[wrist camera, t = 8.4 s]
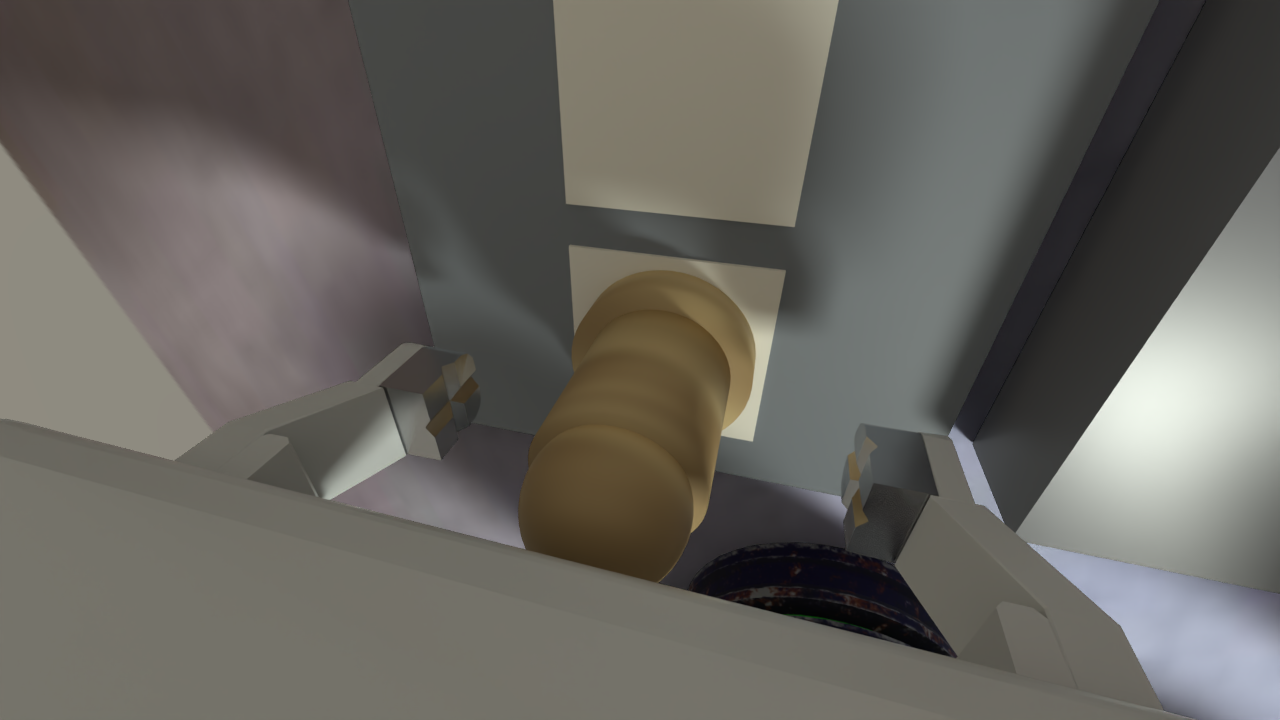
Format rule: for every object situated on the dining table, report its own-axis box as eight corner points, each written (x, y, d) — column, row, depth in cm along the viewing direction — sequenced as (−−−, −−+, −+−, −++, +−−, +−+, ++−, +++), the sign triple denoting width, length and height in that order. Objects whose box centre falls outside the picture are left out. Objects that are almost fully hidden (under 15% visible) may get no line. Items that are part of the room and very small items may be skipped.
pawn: (742, 431, 14) (708, 692, 8) (588, 402, 15) (468, 623, 9) (769, 283, 11) (745, 521, 6) (581, 259, 12) (413, 448, 7)
